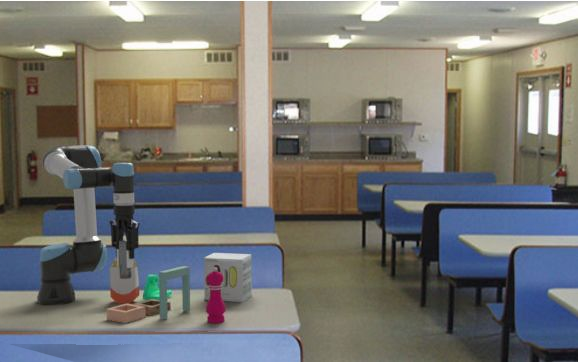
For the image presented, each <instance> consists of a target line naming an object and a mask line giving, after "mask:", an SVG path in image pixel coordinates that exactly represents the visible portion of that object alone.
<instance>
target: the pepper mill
mask: <svg viewBox="0 0 578 362" xmlns="http://www.w3.org/2000/svg"><path fill="white" fill-rule="evenodd" d="M217 270H218V269H217V268H216V267H214V268H213V272H210V273H209V274H208V276H207V281H208V283H209V289H210V298H209V300H207V303H206V307H205V312H206V314H207V315H208V316H206V317H207V319H206V320H207V321H206V322H208V323H210V324H221V323H224V322H225V315H224V314H225V312H226V310H227V309H226V304H225V301H223V300H222V297H221V289H222V284H221V283H222V282H223V280H224V278H223V275H222V273H220V272H218V271H217Z"/></svg>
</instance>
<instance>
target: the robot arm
mask: <svg viewBox="0 0 578 362" xmlns="http://www.w3.org/2000/svg"><path fill="white" fill-rule="evenodd" d="M41 163H42V164H41V165H42V166H43V169H44V170H45V172H47V173H49V174H50V175H54V176H57V177H60V178H61V179H62V181H63V185H64V187H65V188H66V189H67V190H73V202H74V218H75V219H74V220H75V234H76V235H75V236H76V237H75V239H74V240H73V241H72V245H70V243H68V242H67V243H66V242H62V243H56V244H55V243H54V244H51V245H47V246H45V247H43V248H42V249H41V250H40V253H39V254H40V256H39V257H40V258H39V262H40V287H39V290H38V293H37V296H36V302H37V304H39V305H47V306H54V305H63V304H68V303H72V302H74V301H75V300H76V292H75V290H74V286H73V284H72V281H71V275H74V274H82V273H89V272H90V273H94V272H98V271H102V270H103V269H104V267H105V266H106V264H107V259H108V249H107V246H106V244H105V243H103V242H102V239H101V238H100V237H99V236H98V228H97V227H98V225H97V211H96V194H95V189H96V188H98V189H99V188H112V189H113V190H112V191H113V197H112V198H113V204H114V205H113V215H114V216H115V218H114V219H113V220H109V225H110V234H111V235H110V237H111V247H112V248H113V247H114V249H115V256H116V259H117V267H119V240H124V236H125V240H126V241H127V246H128V249H127V250H126V257H127V268H131V267H134V261H135V260H134V258H135V250H136V249H138V248H139V227H140V222H139V221H135V219H134V215H135V213H136V212H135V210H136V209H135V205H134V203H135V171H134V164H133V163H132V162H115V163H113V164H112V166H108V167H107V166H106V167H102V164H103V163H102V157H101V155H100V152H99V150H98V148H96V146H94V145H84V144H83V145H57V146H54V147H51V148H49V150H47V151H46V152H45V153H44V155H43V156H42V160H41Z"/></svg>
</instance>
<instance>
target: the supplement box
mask: <svg viewBox="0 0 578 362" xmlns="http://www.w3.org/2000/svg"><path fill="white" fill-rule="evenodd" d="M203 260H204V261H203V262H204V263H203V267H204V269H203V276H204V277H203V278H204V279H203V280H204V284H203V285H204V287H203V288H204V296H203V297H204V298H203V299H204V301H209V298H210V289H209V283H208V281H207V276H208V274H209V273H210V272H213V268H214V267H216V268H217V269H218V270H217V271H218V272H220V273H222V275H223V278H224V280H223V282H222V283H221V284H222V289H221V297H222V300H223V302H231V303H232V302H233V303H244V302H246V300H248V299H250V297H252V296H253V284H252V282H253V281H252V280H253V279H252V272H253V271H252V254H251V253H250V254H249V253H235V252H233V253H231V252H229V253H228V252H227V253H226V252H213V253H211V254H209V255H207V256H205V257H204V258H203Z"/></svg>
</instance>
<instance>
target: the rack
mask: <svg viewBox="0 0 578 362" xmlns="http://www.w3.org/2000/svg"><path fill="white" fill-rule="evenodd" d="M144 317H145V318H146V317H147V316H146V314H145V307H143V306H138V305H134V303H132V304H131V303H122V304H119V305H116V306H112V307H109V308H106V320H107V321H111V320H112V322H116V321H117V323H121V322H122V324H128V322H129V323H131V321H132V322H135V321H139V320H141V318H142V319H145V318H144ZM134 320H135V321H134Z"/></svg>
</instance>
